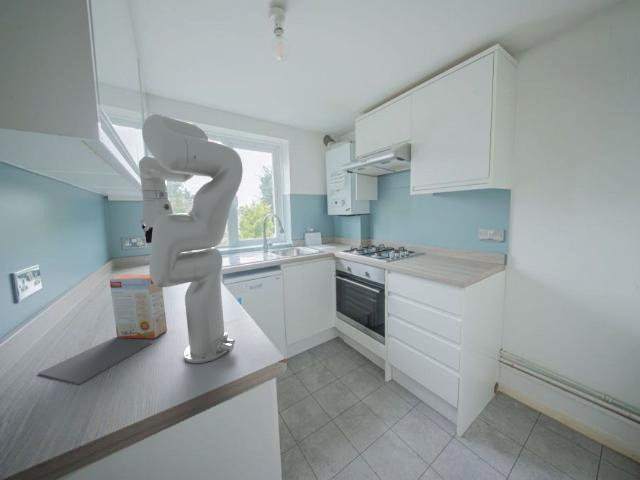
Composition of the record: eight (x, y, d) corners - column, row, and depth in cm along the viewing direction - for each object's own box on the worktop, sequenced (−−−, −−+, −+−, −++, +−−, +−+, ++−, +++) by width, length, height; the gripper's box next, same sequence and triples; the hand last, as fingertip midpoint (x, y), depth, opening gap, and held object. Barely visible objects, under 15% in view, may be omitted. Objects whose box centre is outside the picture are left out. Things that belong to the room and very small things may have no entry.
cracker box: (168, 330, 81) (162, 273, 78) (154, 339, 75) (147, 278, 72) (132, 329, 82) (125, 273, 80) (116, 338, 76) (108, 278, 74)
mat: (151, 343, 72) (151, 342, 72) (79, 384, 55) (79, 383, 55) (115, 338, 76) (115, 337, 76) (38, 374, 59) (37, 373, 59)
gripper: (182, 196, 84) (186, 242, 86) (148, 198, 89) (153, 241, 91) (163, 194, 76) (168, 244, 78) (127, 197, 82) (133, 243, 84)
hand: (160, 242), depth 85 cm, fingers open, 9 cm apart
